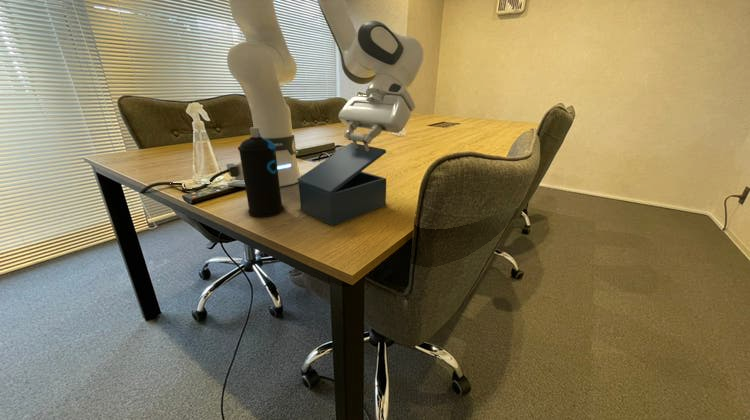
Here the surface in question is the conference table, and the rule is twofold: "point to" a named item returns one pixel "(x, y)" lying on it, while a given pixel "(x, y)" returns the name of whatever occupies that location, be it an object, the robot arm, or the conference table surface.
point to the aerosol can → (260, 175)
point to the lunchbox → (344, 199)
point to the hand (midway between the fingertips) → (356, 140)
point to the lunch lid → (342, 165)
